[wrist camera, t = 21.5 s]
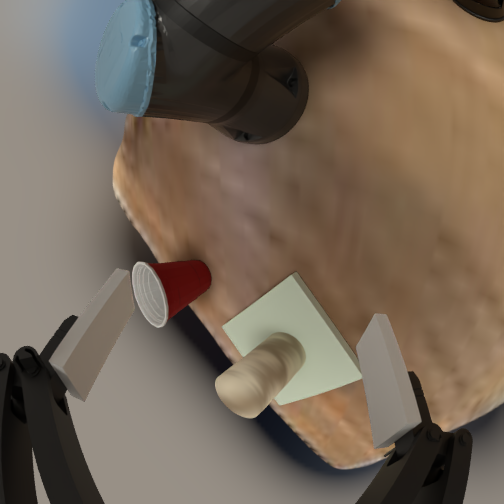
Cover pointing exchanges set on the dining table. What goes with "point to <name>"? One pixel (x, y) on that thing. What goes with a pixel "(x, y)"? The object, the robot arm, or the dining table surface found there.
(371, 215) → the dining table surface
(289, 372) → the birch roller
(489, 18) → the french press
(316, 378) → the board
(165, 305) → the plastic cup
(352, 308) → the dining table surface
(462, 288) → the dining table surface
